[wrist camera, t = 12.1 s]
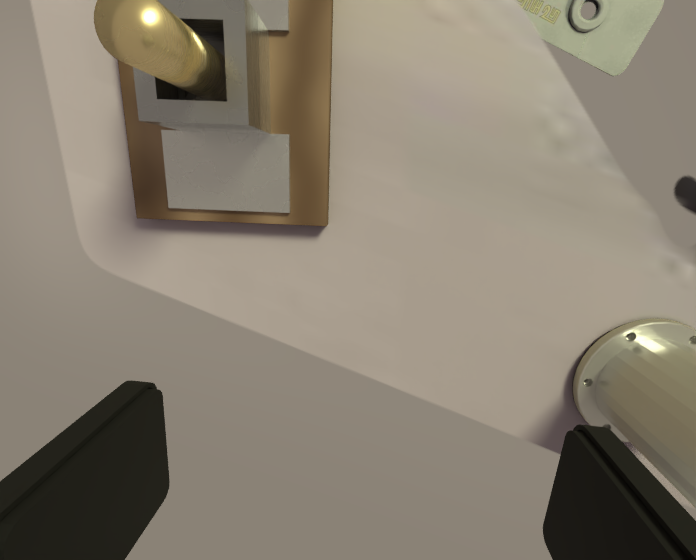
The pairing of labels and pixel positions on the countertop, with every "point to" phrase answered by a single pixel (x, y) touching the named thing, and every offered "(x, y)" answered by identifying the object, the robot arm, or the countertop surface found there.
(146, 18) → the hinge pin
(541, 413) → the countertop surface
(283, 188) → the grey stepped block
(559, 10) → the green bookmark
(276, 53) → the walnut board
